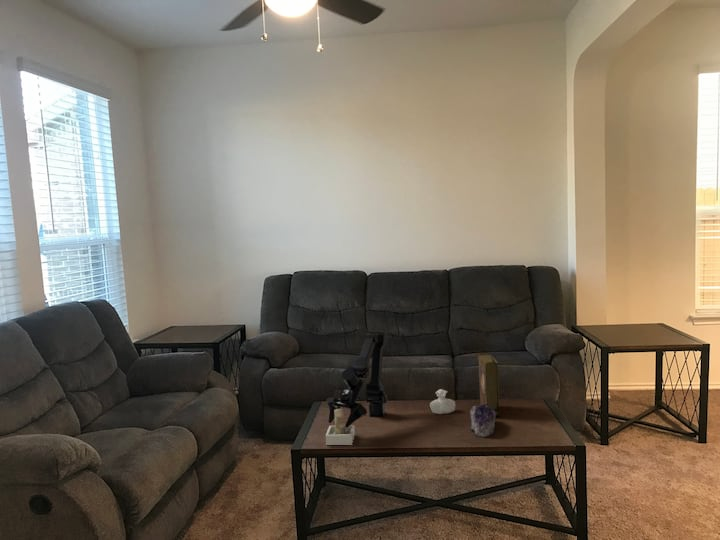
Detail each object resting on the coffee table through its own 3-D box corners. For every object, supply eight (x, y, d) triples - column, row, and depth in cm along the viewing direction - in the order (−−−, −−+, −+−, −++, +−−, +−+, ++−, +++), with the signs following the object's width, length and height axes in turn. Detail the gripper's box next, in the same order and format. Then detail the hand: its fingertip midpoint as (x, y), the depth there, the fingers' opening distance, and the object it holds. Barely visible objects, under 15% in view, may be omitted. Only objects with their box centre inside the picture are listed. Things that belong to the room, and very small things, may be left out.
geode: (501, 438, 217) (496, 415, 216) (472, 441, 219) (467, 418, 218) (497, 418, 236) (493, 397, 235) (471, 421, 239) (467, 400, 238)
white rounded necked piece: (455, 415, 251) (450, 392, 258) (458, 409, 245) (453, 386, 251) (430, 417, 250) (426, 394, 257) (432, 412, 244) (428, 388, 250)
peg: (347, 439, 224) (345, 408, 223) (343, 443, 220) (341, 412, 219) (338, 438, 226) (336, 408, 224) (334, 442, 222) (332, 411, 221)
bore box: (354, 435, 228) (354, 425, 227) (352, 445, 217) (351, 435, 217) (330, 436, 229) (329, 425, 228) (326, 446, 218) (325, 435, 218)
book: (479, 405, 256) (477, 354, 254) (491, 405, 256) (489, 353, 254) (487, 418, 240) (485, 363, 238) (499, 417, 239) (497, 362, 238)
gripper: (327, 378, 230) (310, 411, 222) (361, 385, 218) (344, 419, 211) (340, 391, 237) (325, 424, 229) (374, 398, 225) (358, 432, 217)
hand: (337, 424), depth 221 cm, fingers open, 9 cm apart
